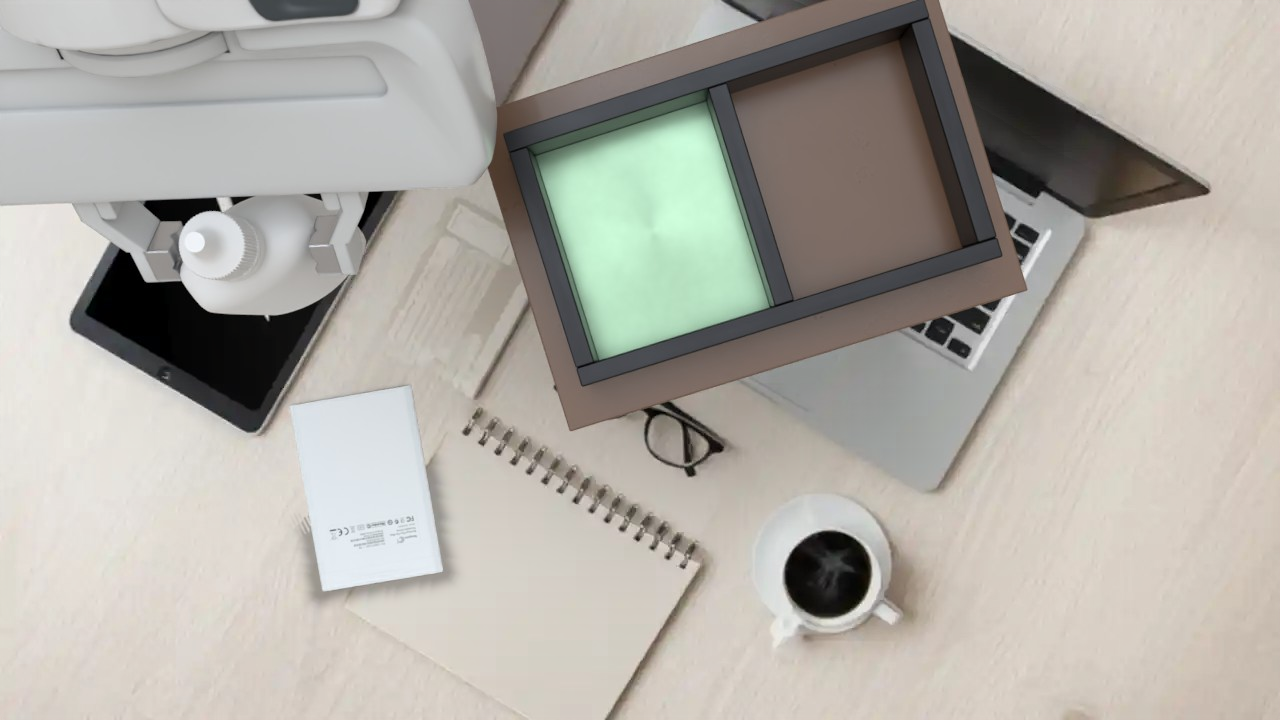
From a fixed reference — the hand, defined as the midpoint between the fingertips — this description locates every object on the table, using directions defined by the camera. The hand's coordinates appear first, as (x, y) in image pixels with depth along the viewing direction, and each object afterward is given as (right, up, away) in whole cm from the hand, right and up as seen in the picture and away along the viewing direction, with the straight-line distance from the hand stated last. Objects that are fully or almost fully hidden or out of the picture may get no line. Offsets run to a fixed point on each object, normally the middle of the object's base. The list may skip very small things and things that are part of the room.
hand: (258, 268), depth 43 cm
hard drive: (-3, -12, +30) cm, 33 cm away
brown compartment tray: (+19, +3, +4) cm, 20 cm away
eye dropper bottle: (0, +1, +7) cm, 7 cm away
